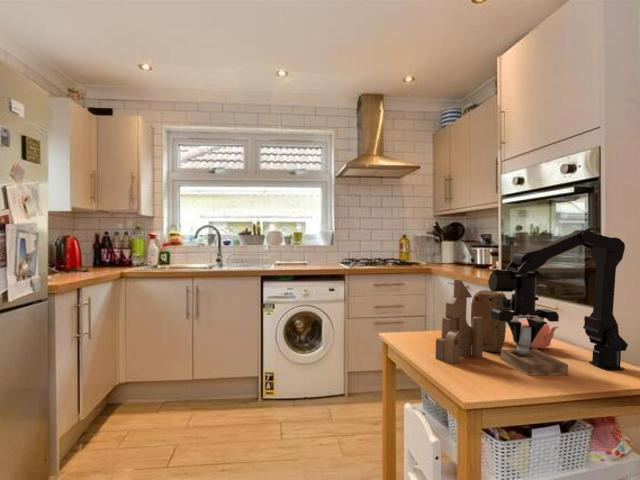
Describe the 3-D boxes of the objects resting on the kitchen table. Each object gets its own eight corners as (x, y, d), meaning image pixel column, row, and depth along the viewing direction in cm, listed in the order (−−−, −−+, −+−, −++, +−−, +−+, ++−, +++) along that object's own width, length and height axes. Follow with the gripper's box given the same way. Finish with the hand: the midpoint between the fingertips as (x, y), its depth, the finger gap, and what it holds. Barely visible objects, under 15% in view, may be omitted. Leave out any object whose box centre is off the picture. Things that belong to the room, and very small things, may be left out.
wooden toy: (452, 364, 116) (455, 282, 116) (435, 358, 122) (437, 279, 121) (484, 357, 124) (487, 280, 124) (466, 351, 130) (469, 277, 130)
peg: (525, 350, 121) (526, 325, 120) (533, 354, 116) (534, 328, 116) (512, 350, 120) (513, 324, 120) (520, 354, 116) (521, 328, 116)
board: (536, 359, 124) (536, 349, 124) (567, 375, 110) (568, 364, 110) (500, 358, 123) (501, 349, 123) (527, 375, 109) (528, 364, 109)
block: (507, 351, 132) (509, 292, 132) (495, 354, 128) (497, 294, 127) (477, 343, 141) (480, 288, 140) (465, 346, 136) (467, 289, 136)
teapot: (511, 349, 134) (512, 320, 134) (506, 340, 146) (507, 313, 145) (558, 354, 130) (559, 324, 130) (549, 345, 141) (550, 317, 141)
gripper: (537, 288, 127) (535, 336, 127) (482, 288, 125) (481, 335, 126) (561, 294, 116) (559, 345, 116) (501, 293, 114) (499, 345, 115)
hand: (523, 342), depth 118 cm, fingers closed on peg, 4 cm apart
